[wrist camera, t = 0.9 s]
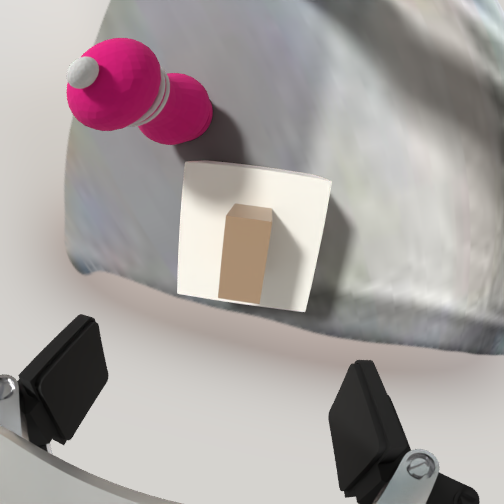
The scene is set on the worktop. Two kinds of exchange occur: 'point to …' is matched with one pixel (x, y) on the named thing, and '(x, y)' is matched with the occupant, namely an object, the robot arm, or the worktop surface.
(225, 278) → the cover
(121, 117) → the pepper mill
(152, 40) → the worktop surface
